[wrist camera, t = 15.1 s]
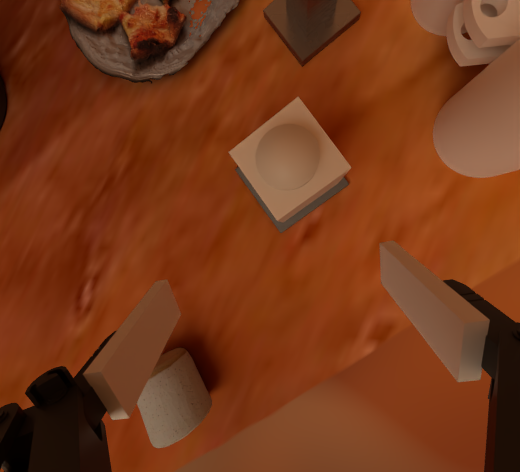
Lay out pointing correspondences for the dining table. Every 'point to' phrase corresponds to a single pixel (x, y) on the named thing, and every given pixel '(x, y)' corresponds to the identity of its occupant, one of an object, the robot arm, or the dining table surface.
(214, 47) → the dining table surface
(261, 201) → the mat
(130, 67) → the food plate
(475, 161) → the bracket
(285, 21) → the post
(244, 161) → the beige block piece
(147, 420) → the ceramic mug
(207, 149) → the dining table surface
